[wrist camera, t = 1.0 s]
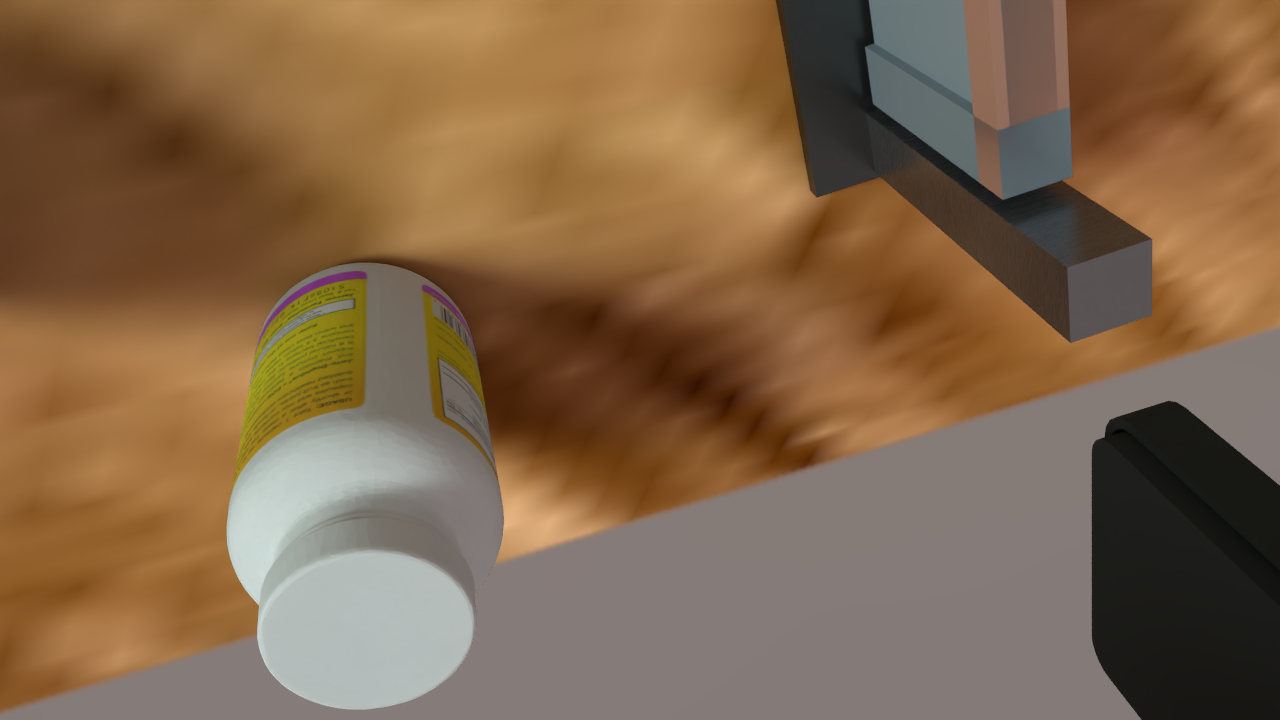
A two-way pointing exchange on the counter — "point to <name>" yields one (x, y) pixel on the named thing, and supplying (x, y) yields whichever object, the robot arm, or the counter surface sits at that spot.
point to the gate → (978, 84)
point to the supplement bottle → (364, 488)
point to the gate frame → (959, 185)
